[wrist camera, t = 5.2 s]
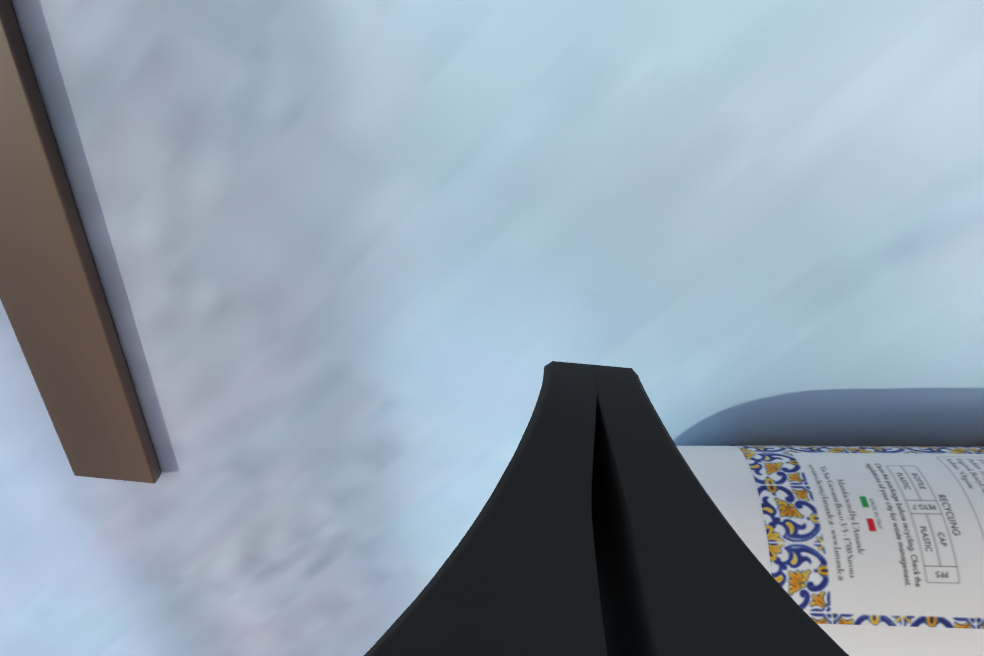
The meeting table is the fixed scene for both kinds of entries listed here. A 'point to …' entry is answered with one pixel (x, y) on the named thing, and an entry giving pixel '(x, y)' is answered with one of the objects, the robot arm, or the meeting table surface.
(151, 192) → the meeting table surface
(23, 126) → the walnut ruler
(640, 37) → the meeting table surface
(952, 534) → the bath foam
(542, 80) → the meeting table surface
